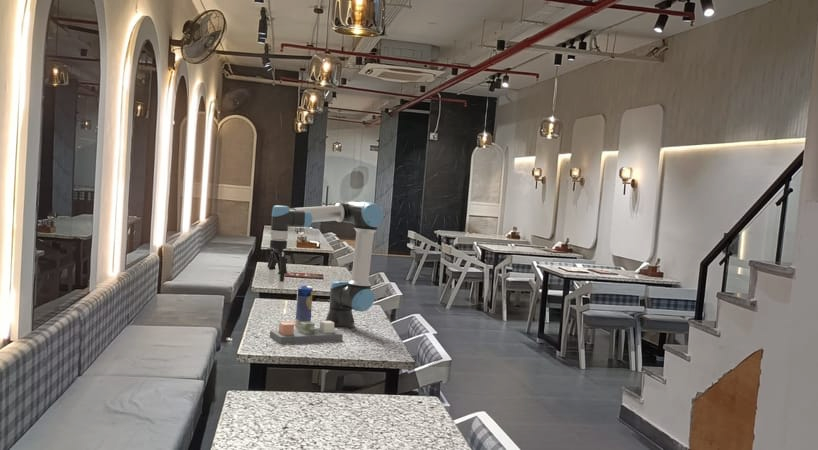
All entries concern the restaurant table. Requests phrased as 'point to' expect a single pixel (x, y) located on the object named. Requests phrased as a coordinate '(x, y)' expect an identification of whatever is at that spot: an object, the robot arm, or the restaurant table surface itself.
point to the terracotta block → (286, 328)
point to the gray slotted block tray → (305, 337)
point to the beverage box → (303, 305)
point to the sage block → (307, 327)
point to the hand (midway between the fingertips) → (275, 286)
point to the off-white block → (326, 326)
